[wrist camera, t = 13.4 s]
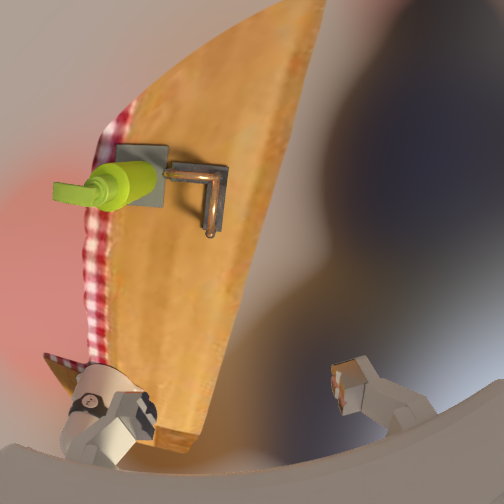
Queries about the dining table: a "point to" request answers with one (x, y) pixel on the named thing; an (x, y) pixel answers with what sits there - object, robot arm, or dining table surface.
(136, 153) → the mat
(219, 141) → the dining table surface
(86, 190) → the soap dispenser
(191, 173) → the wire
